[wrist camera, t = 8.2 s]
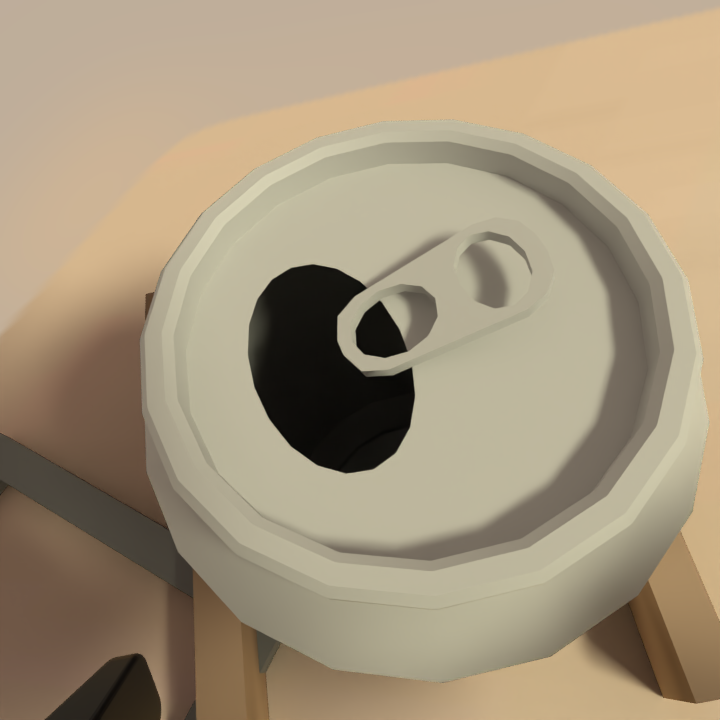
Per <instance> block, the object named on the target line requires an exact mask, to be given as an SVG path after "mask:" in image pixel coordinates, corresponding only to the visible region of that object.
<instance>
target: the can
mask: <svg viewBox="0 0 720 720" xmlns="http://www.w3.org/2000/svg"><path fill="white" fill-rule="evenodd" d="M140 361H141V394H142V415H143V417H144V420H145V443H146V472H147V475H148V477H149V480H150V482H151V485H152V487H153V490H154V492H155V495H156V498H157V500H158V503H159V505H160V508H161V510H162V513H163V515H164V518H165V520H166V523H167V525H168V528H169V530H170V533H171V535H172V538H173V540H174V543H175V545H176V548H177V551H178V552H179V553H180V555H181V556H182V557H183V558H184V559H185V560H186V561H187V562H188V563H189V565H190V566H191V567H192V568H193V569H194V570H195V571H196V572H197V573H198V575H199V576H200V577H201V578H202V579H203V580H204V581H205V582H206V583H207V585H208V586H209V587H210V588H211V589H212V590H213V591H214V592H215V593H216V595H217V596H218V597H219V598H220V599H221V600H222V601H223V602H224V603H225V604H226V606H227V607H228V608H229V609H230V610H231V611H232V612H233V613H234V614H235V616H236V617H237V618H238V619H239V620H240V621H241V622H242V623H244V624H246V625H248V626H250V627H252V628H254V629H256V630H258V631H260V632H262V633H263V634H265V635H267V636H269V637H271V638H273V639H275V640H277V641H279V642H281V643H283V644H285V645H287V646H289V647H290V648H292V649H294V650H296V651H298V652H300V653H302V654H304V655H306V656H308V657H310V658H312V659H314V660H316V661H317V662H319V663H321V664H323V665H325V666H327V667H329V668H331V669H333V670H340V671H348V672H357V673H365V674H373V675H381V676H389V677H398V678H406V679H414V680H422V681H431V682H439V683H444V682H448V681H452V680H457V679H461V678H465V677H469V676H473V675H477V674H481V673H485V672H489V671H493V670H497V669H502V668H506V667H510V666H514V665H518V664H522V663H526V662H530V661H534V660H538V659H543V658H547V657H551V656H552V655H553V654H555V653H556V652H558V651H559V650H561V649H562V648H563V647H565V646H566V645H568V644H569V643H571V642H572V641H573V640H575V639H576V638H578V637H579V636H581V635H582V634H583V633H585V632H586V631H588V630H589V629H591V628H592V627H593V626H595V625H596V624H598V623H599V622H601V621H602V620H603V619H605V618H606V617H608V616H609V615H611V614H612V613H613V612H615V611H616V610H618V609H619V608H621V607H622V606H623V605H625V604H626V603H628V602H629V601H631V600H632V599H633V598H635V597H636V596H638V595H639V593H640V592H641V590H642V589H643V587H644V585H645V584H646V582H647V581H648V579H649V578H650V576H651V575H652V573H653V572H654V570H655V569H656V567H657V565H658V564H659V562H660V561H661V559H662V558H663V556H664V555H665V553H666V552H667V550H668V549H669V547H670V545H671V544H672V542H673V541H674V539H675V538H676V536H677V535H678V533H679V532H680V530H681V528H682V527H683V525H684V524H685V522H686V521H687V519H688V518H689V516H690V515H691V513H692V511H693V506H694V500H695V495H696V490H697V485H698V479H699V474H700V469H701V464H702V458H703V453H704V448H705V442H706V437H707V432H708V427H709V417H708V412H707V406H706V401H705V396H704V390H703V385H702V380H701V369H702V364H703V354H702V349H701V344H700V338H699V333H698V328H697V323H696V318H695V313H694V307H693V302H692V297H691V292H690V287H689V281H688V279H687V277H686V275H685V274H684V272H683V271H682V269H681V267H680V266H679V264H678V262H677V261H676V259H675V258H674V256H673V254H672V253H671V251H670V249H669V248H668V246H667V244H666V243H665V241H664V240H663V238H662V236H661V235H660V233H659V231H658V230H657V228H656V226H655V225H654V223H653V222H652V220H651V218H650V217H649V215H648V214H647V213H646V212H645V211H644V210H642V209H641V208H640V207H639V206H638V205H637V204H635V203H634V202H633V201H632V200H631V199H630V198H628V197H627V196H626V195H625V194H624V193H623V192H622V191H620V190H619V189H618V188H617V187H616V186H615V185H613V184H612V183H611V182H610V181H609V180H608V179H606V178H605V177H604V176H603V175H602V174H601V173H599V172H598V171H597V170H596V169H595V168H594V167H592V166H591V165H589V164H587V163H585V162H583V161H580V160H578V159H576V158H574V157H572V156H570V155H568V154H566V153H563V152H561V151H559V150H557V149H555V148H553V147H551V146H549V145H546V144H544V143H542V142H540V141H538V140H536V139H534V138H532V137H529V136H527V135H525V134H522V133H517V132H512V131H507V130H503V129H498V128H493V127H488V126H483V125H478V124H473V123H468V122H463V121H458V120H416V121H383V122H379V123H375V124H370V125H366V126H362V127H358V128H354V129H350V130H346V131H342V132H338V133H334V134H330V135H326V136H322V137H318V138H315V139H313V140H311V141H309V142H307V143H305V144H303V145H301V146H299V147H297V148H295V149H293V150H291V151H289V152H287V153H285V154H283V155H281V156H279V157H277V158H275V159H273V160H271V161H269V162H267V163H265V164H263V165H261V166H259V167H257V168H255V169H254V170H253V171H251V172H250V173H249V174H248V175H247V176H245V177H244V178H243V179H242V180H241V181H240V182H238V183H237V184H236V185H235V186H234V187H232V188H231V189H230V190H229V191H228V192H227V193H225V194H224V195H223V196H222V197H221V198H219V199H218V200H217V201H216V202H215V203H213V204H212V205H211V206H210V207H209V208H208V209H206V210H205V211H204V212H203V213H202V214H201V215H200V216H199V218H198V219H197V220H196V222H195V223H194V225H193V226H192V228H191V229H190V231H189V232H188V233H187V235H186V236H185V238H184V239H183V241H182V242H181V244H180V245H179V246H178V248H177V249H176V251H175V252H174V254H173V255H172V257H171V258H170V259H169V261H168V262H167V264H166V265H165V267H164V268H163V270H162V271H161V274H160V277H159V280H158V283H157V286H156V290H155V293H154V296H153V299H152V302H151V305H150V309H149V312H148V315H147V318H146V321H145V324H144V328H143V331H142V334H141V337H140Z"/></svg>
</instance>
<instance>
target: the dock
mask: <svg viewBox="0 0 720 720" xmlns="http://www.w3.org/2000/svg"><path fill="white" fill-rule="evenodd" d="M154 293H155V292H153V293H148V294H146V309H145V321H146V318H147V315H148V312H149V309H150V305H151V302H152V299H153V296H154ZM193 601H194V641H195V682H196V720H269V712H268V699H267V686H266V673H260V672H259V659H258V645H257V631H256V629H254V628H252V627H250V626H248V625H246V624H244V623H242V622H241V621H240V620H239V619H238V618H237V617H236V616H235V614H234V613H233V612H232V611H231V610H230V609H229V608H228V607H227V606H226V604H225V603H224V602H223V601H222V600H221V599H220V598H219V597H218V596H217V595H216V593H215V592H214V591H213V590H212V589H211V588H210V587H209V586H208V585H207V583H206V582H205V581H204V580H203V579H202V578H201V577H200V576H199V575H198V573H197V572H196V571H195V570H194V569H193ZM628 603H629V606H630V609H631V611H632V614H633V617H634V619H635V622H636V625H637V628H638V630H639V633H640V636H641V638H642V641H643V644H644V647H645V649H646V652H647V655H648V657H649V660H650V663H651V666H652V668H653V671H654V674H655V676H656V679H657V682H658V685H659V687H660V690H661V693H662V695H663V698H668V699H673V700H679V701H685V702H690V703H696V704H697V703H703V702H708V701H713V700H718V699H720V621H719V619H718V616H717V614H716V612H715V609H714V607H713V605H712V603H711V600H710V598H709V596H708V593H707V591H706V589H705V586H704V584H703V582H702V580H701V577H700V575H699V573H698V570H697V568H696V566H695V563H694V561H693V559H692V557H691V554H690V552H689V550H688V547H687V545H686V543H685V540H684V538H683V536H682V533H681V531H680V532H679V533H678V535H677V536H676V538H675V539H674V541H673V542H672V544H671V545H670V547H669V549H668V550H667V552H666V553H665V555H664V556H663V558H662V559H661V561H660V562H659V564H658V565H657V567H656V569H655V570H654V572H653V573H652V575H651V576H650V578H649V579H648V581H647V582H646V584H645V585H644V587H643V589H642V590H641V592H640V593H639V595H638V596H636V597H635V598H633V599H632V600H631V601H629V602H628Z"/></svg>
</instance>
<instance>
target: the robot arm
mask: <svg viewBox="0 0 720 720" xmlns="http://www.w3.org/2000/svg"><path fill="white" fill-rule="evenodd" d="M160 718H161V702H160V697H159V694H158V691H157V689H156V686H155V683H154V680H153V678H152V675H151V672H150V670H149V667H148V664H147V662H146V660H145V658H144V657H143V656H142V655H141V654H138V653H136V654H130V655H125V656H120V657H116V658H113V659H111V660H109V661H108V662H107V663H106V664H105V665H103V666H102V667H101V668H100V669H99V670H98V671H97V672H96V673H95V674H94V675H93V676H92V677H91V678H89V679H88V680H87V681H86V682H85V683H84V684H83V685H82V686H81V687H80V688H79V689H78V690H76V691H75V692H74V693H73V694H72V695H71V696H70V697H69V698H68V699H67V700H66V701H65V702H64V703H62V704H61V705H60V706H59V707H58V708H57V709H56V710H55V711H54V712H53V713H52V714H51V715H49V716H48V717H47V718H46V719H45V720H160Z"/></svg>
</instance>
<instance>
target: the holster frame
mask: <svg viewBox="0 0 720 720" xmlns="http://www.w3.org/2000/svg"><path fill="white" fill-rule="evenodd" d="M7 485H10V486H11V487H13V488H15V489H16V490H18V491H19V492H21V493H23V494H24V495H26V496H28V497H29V498H31V499H33V500H34V501H36V502H37V503H39V504H41V505H42V506H44V507H46V508H47V509H49V510H50V511H52V512H54V513H55V514H57V515H59V516H60V517H62V518H63V519H65V520H67V521H68V522H70V523H72V524H73V525H75V526H76V527H78V528H80V529H81V530H83V531H85V532H86V533H88V534H89V535H91V536H93V537H94V538H96V539H98V540H99V541H101V542H103V543H104V544H106V545H107V546H109V547H111V548H112V549H114V550H116V551H117V552H119V553H120V554H122V555H124V556H125V557H127V558H129V559H130V560H132V561H133V562H135V563H137V564H138V565H140V566H142V567H143V568H145V569H146V570H148V571H150V572H151V573H153V574H155V575H156V576H158V577H159V578H161V579H163V580H164V581H166V582H168V583H169V584H171V585H172V586H174V587H176V588H177V589H179V590H181V591H182V592H184V593H186V594H187V595H189V596H190V597H192V598H193V568H192V567H191V566H190V565H189V563H188V562H187V561H186V560H185V559H184V558H183V557H182V556H181V555H180V553H179V552H178V551H177V548H176V545H175V543H174V540H173V538H172V535H171V533H170V530H168V529H167V528H165V527H163V526H161V525H160V524H158V523H156V522H154V521H153V520H151V519H149V518H148V517H146V516H144V515H142V514H141V513H139V512H137V511H135V510H134V509H132V508H130V507H129V506H127V505H125V504H123V503H122V502H120V501H118V500H116V499H115V498H113V497H111V496H109V495H108V494H106V493H104V492H103V491H101V490H99V489H97V488H96V487H94V486H92V485H90V484H89V483H87V482H85V481H84V480H82V479H80V478H78V477H77V476H75V475H73V474H71V473H70V472H68V471H66V470H64V469H63V468H61V467H59V466H58V465H56V464H54V463H52V462H51V461H49V460H47V459H45V458H44V457H42V456H40V455H39V454H37V453H35V452H33V451H32V450H30V449H28V448H26V447H25V446H23V445H21V444H19V443H18V442H16V441H14V440H13V439H11V438H9V437H7V436H5V435H3V434H1V433H0V495H1V493H2V492H3V491H4V489H5V488H6V487H7ZM256 631H257V645H258V659H259V672H260V673H266V671H267V669H268V667H269V665H270V663H271V661H272V659H273V657H274V655H275V653H276V651H277V649H278V647H279V645H280V643H281V642H279V641H277V640H275V639H273V638H271V637H269V636H267V635H265V634H263V633H262V632H260V631H258V630H256ZM185 720H196V700H195V701H194V703H193V705H192V707H191V709H190V710H189V712H188V714H187V716H186V718H185Z"/></svg>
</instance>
